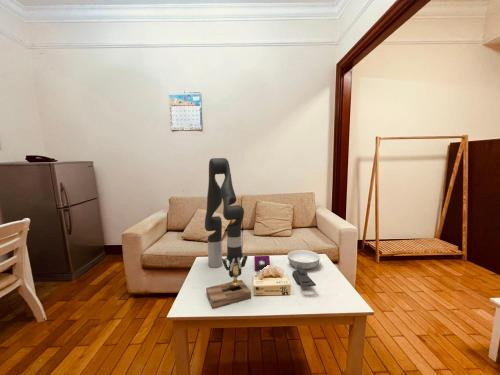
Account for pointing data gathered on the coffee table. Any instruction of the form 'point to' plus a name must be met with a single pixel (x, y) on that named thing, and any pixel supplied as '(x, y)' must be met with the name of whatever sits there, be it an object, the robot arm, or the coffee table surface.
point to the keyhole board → (227, 294)
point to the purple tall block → (257, 258)
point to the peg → (235, 275)
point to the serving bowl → (303, 258)
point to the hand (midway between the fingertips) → (235, 275)
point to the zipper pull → (302, 278)
